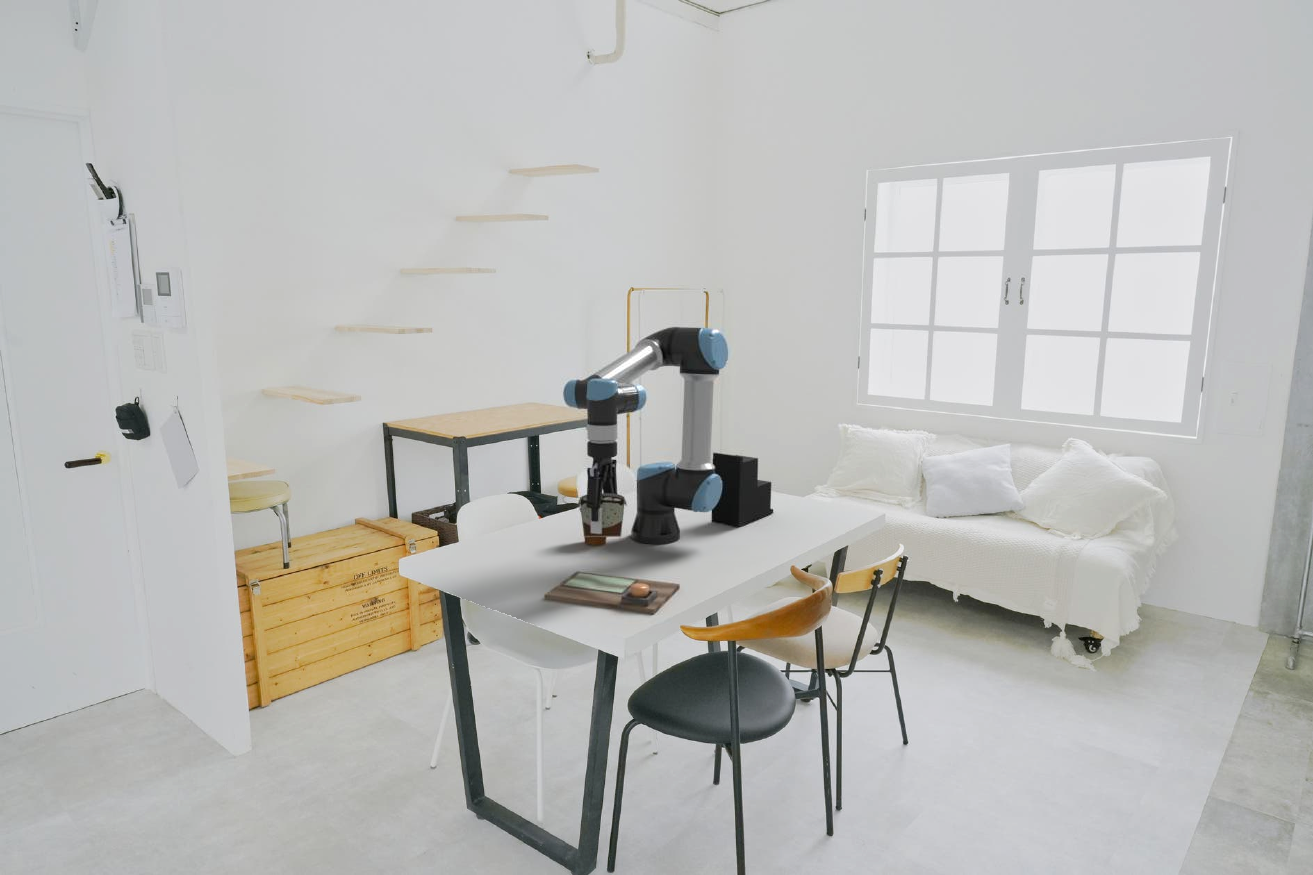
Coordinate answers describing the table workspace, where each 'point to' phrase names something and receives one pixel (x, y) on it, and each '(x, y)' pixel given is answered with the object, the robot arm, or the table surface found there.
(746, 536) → the table surface
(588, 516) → the food container
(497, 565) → the table surface
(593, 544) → the disposable coffee cup
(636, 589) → the button
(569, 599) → the picture board
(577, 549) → the table surface
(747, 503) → the black stepped block
